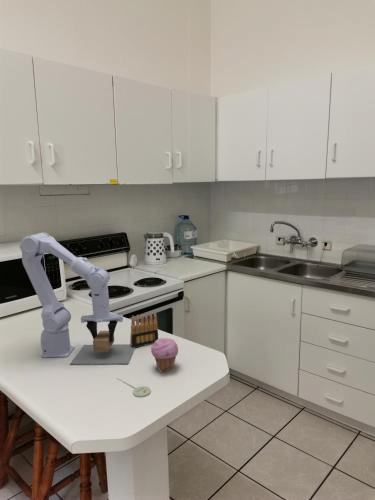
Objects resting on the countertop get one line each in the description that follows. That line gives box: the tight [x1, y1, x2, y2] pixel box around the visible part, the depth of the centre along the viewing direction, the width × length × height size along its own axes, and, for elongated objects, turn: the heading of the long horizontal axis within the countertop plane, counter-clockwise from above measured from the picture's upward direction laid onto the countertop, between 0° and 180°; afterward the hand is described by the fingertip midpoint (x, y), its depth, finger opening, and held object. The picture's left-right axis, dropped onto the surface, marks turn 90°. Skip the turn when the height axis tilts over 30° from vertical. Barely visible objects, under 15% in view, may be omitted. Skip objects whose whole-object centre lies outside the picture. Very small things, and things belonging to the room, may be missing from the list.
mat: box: [69, 343, 136, 366], centre depth 134 cm, size 20×15×1 cm
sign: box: [116, 377, 152, 398], centre depth 113 cm, size 5×1×15 cm
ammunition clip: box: [129, 311, 159, 348], centre depth 140 cm, size 11×2×12 cm, turn 119°
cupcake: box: [150, 337, 179, 372], centre depth 122 cm, size 9×9×10 cm
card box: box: [92, 330, 115, 352], centre depth 133 cm, size 9×5×4 cm, turn 177°
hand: (103, 340), depth 133 cm, fingers closed on card box, 5 cm apart
